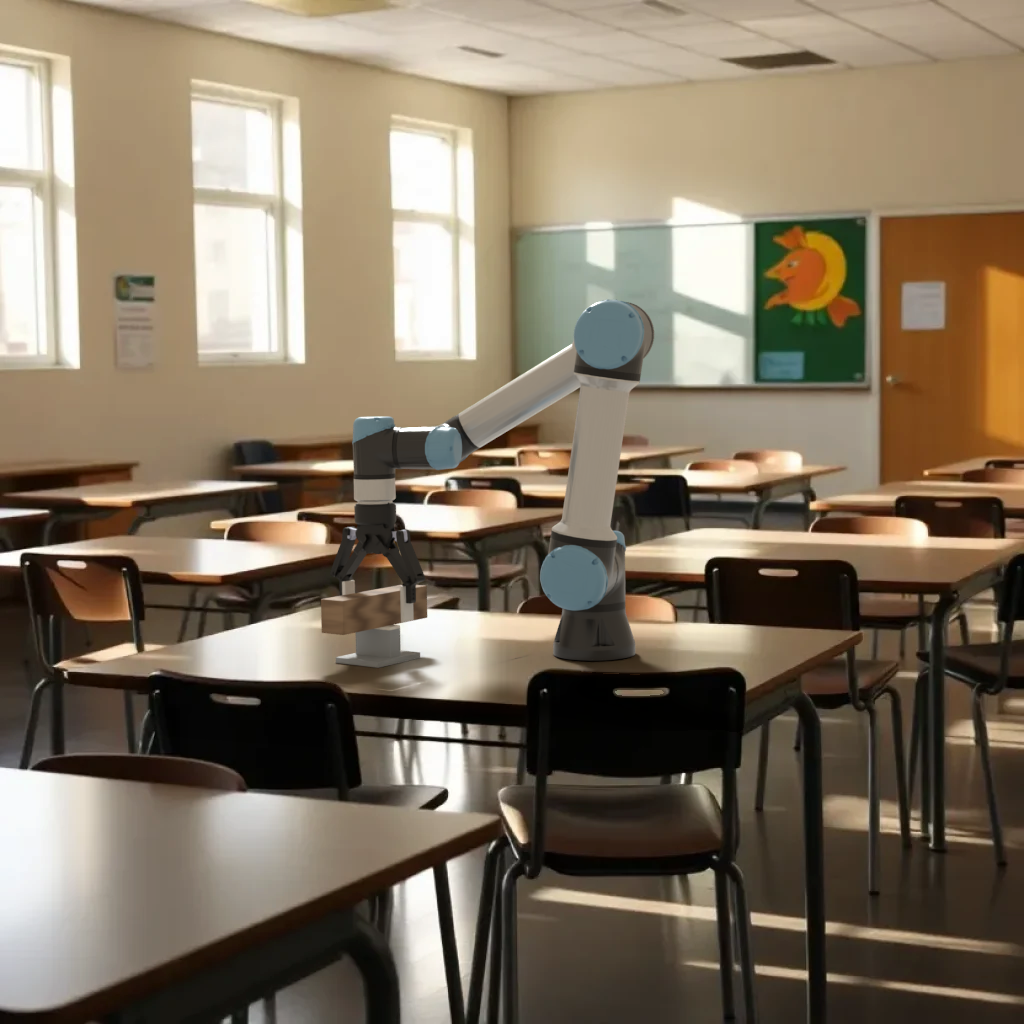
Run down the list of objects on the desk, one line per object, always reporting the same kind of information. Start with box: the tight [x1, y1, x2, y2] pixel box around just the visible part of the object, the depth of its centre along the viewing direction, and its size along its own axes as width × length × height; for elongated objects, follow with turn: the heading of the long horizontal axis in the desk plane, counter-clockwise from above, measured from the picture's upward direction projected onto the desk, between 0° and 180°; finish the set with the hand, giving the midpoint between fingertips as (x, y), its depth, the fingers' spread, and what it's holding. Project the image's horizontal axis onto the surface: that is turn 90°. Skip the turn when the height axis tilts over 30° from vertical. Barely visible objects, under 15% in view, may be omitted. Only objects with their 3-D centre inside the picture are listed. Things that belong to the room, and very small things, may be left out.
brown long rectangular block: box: [320, 584, 428, 636], centre depth 314 cm, size 24×5×6 cm, turn 145°
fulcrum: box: [335, 624, 421, 669], centre depth 314 cm, size 10×12×6 cm
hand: (377, 618), depth 314 cm, fingers open, 13 cm apart
